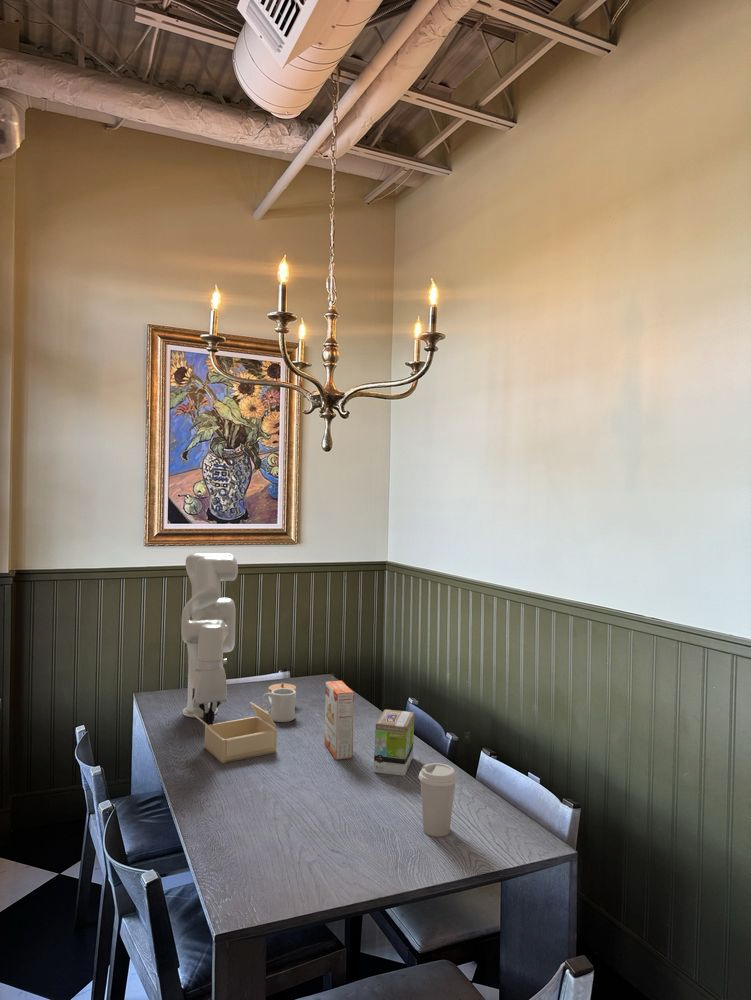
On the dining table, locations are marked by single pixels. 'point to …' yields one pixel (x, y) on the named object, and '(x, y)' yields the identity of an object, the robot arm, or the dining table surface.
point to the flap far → (263, 714)
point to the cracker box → (339, 719)
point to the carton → (240, 739)
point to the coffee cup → (437, 797)
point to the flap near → (207, 725)
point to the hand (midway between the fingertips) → (208, 723)
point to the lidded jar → (282, 685)
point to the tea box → (394, 742)
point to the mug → (281, 704)
